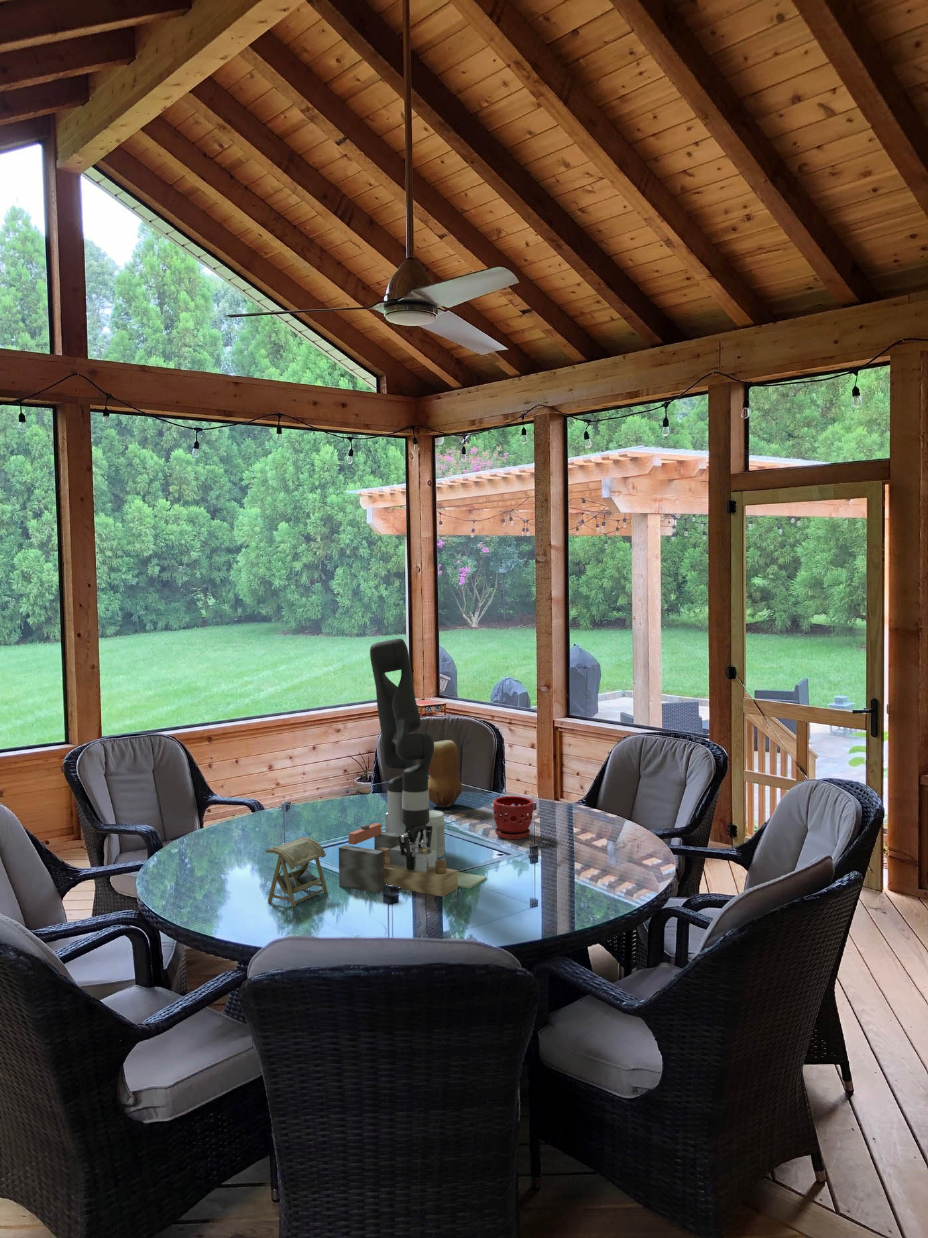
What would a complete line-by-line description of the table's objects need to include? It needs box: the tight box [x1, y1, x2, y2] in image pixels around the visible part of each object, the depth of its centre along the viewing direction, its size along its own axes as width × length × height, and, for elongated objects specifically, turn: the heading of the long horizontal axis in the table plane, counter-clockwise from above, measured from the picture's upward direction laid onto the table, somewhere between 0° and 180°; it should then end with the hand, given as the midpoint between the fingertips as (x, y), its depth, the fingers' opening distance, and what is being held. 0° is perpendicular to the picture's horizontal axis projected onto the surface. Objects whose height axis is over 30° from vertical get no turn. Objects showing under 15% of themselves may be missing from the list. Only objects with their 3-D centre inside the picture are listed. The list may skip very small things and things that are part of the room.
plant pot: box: [492, 795, 534, 840], centre depth 316 cm, size 13×13×12 cm
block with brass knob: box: [390, 845, 436, 873], centre depth 265 cm, size 12×5×6 cm, turn 60°
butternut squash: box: [428, 739, 463, 808], centre depth 357 cm, size 14×13×25 cm
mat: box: [458, 871, 488, 890], centre depth 269 cm, size 10×10×1 cm
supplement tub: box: [426, 809, 446, 861], centre depth 287 cm, size 10×10×15 cm
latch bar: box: [348, 822, 382, 846], centre depth 273 cm, size 2×13×4 cm, turn 150°
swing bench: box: [265, 836, 328, 908], centre depth 256 cm, size 15×10×15 cm, turn 152°
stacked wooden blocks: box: [338, 830, 459, 897], centre depth 267 cm, size 30×20×11 cm, turn 60°
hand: (416, 866), depth 265 cm, fingers closed on block with brass knob, 5 cm apart
